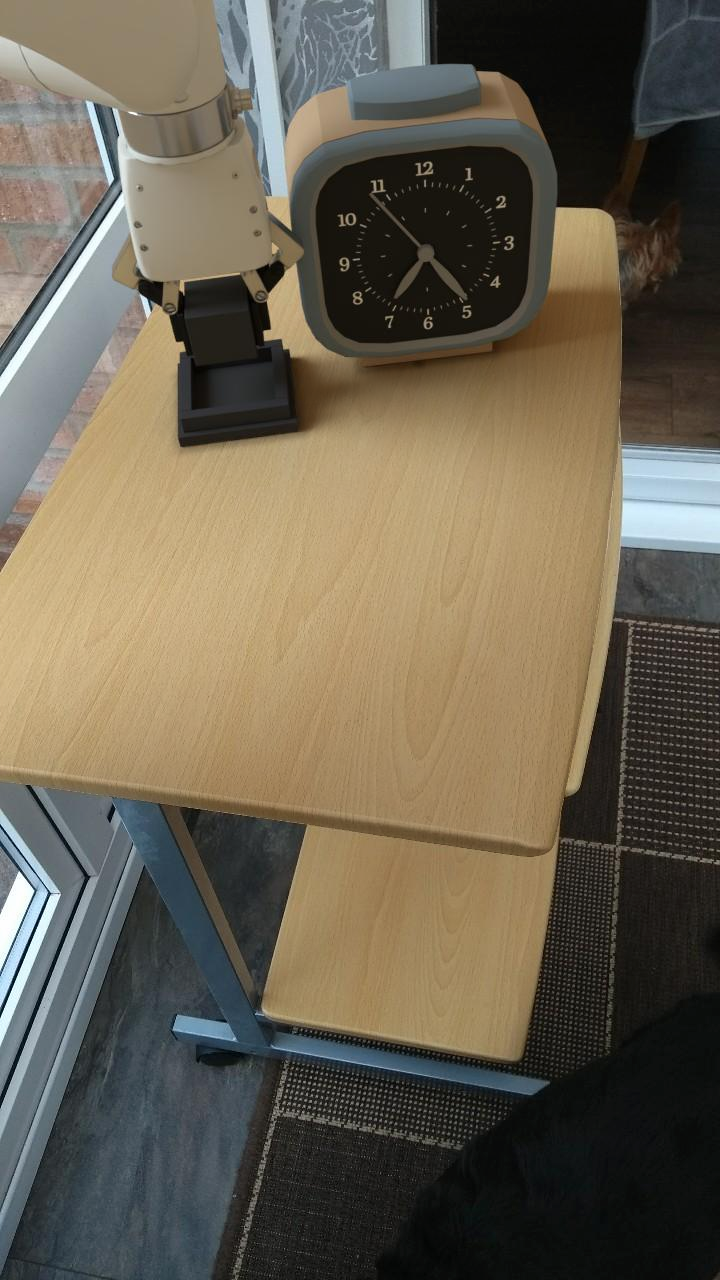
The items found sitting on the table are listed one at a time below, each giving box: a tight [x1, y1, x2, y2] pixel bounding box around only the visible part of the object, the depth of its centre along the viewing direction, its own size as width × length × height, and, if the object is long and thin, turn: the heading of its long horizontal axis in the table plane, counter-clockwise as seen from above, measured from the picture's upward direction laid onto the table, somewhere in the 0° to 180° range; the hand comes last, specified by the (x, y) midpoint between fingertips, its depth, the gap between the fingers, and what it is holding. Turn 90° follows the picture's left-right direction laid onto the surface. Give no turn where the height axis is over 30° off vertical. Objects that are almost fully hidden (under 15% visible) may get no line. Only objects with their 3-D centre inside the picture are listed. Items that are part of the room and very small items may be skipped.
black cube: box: [183, 273, 258, 366], centre depth 82 cm, size 5×5×4 cm
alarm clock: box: [284, 63, 558, 367], centre depth 83 cm, size 21×10×22 cm, turn 95°
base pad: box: [176, 338, 300, 448], centre depth 87 cm, size 10×10×2 cm
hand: (225, 339), depth 83 cm, fingers closed on black cube, 5 cm apart
